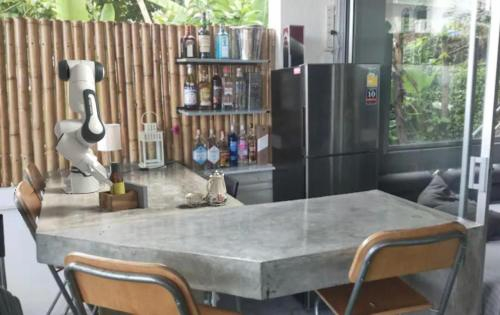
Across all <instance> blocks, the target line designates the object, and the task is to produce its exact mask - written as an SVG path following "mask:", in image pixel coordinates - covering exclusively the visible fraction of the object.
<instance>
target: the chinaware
mask: <svg viewBox="0 0 500 315" xmlns="http://www.w3.org/2000/svg"><path fill="white" fill-rule="evenodd" d="M224 175H225V173H221V174H220V173H219V172H218V169H215V171H214V173H212V174H211V175H209V179H208V181H207V182H206V186H205V188H206V191H207V194H206V196H205V198H204V200H205V202H206V203H207V205H208V204H211V205H217V204H224V203H226V202H227V201H228V199H229V196H228V194H227V192H228V191H227V188H226V186H227V185H226V182H225V178H224ZM204 195H205V194H201V193H199V192H195V193H191V192H190V193H189V192H188V193H187V194H184V196H183V197H184V198H185V199H186V202H187V205H188V206H189V207H191V208H196V207H195V206H197V205H199V204H200V203H201V202H202V198H203V197H204ZM197 207H198V206H197Z"/></svg>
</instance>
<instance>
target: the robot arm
mask: <svg viewBox="0 0 500 315" xmlns="http://www.w3.org/2000/svg"><path fill="white" fill-rule="evenodd" d="M55 73H56V75H57V77H58V79H59V80H60V81H61V82H66V83H68V107H69V109H70V110H71V111H73V113H76V114H79V115H80V116H81V117H80V118H75V119H73V118H72V119H62V120H59V121H57V122H56V123H55V125H54V130H53V131H54V134H55V136H56V137H57V140H56V142H55V143H54V148H55V149H56V150H57V152H58V153H59V154H60V155H61V156H62V157H64V158H65V159H66V160H67V161H69V162H71V165H70V174H69V175H68V177H66V178H65V180H64V185H65V186H63V187H61V190H62V189H63V190H64V191H65V192H64V191H63V190H62V191H63V192H64V193H65V194H67V193H68V194H69V195H72V194H87V193H88V194H89V193H93V192H94V193H95V192H98V191H99V190H101V189H102V187H101V186H100V183H101V184H102V183H104V184H106V185H108V186H109V187H110V186H112V185H113V183H112V182H111V181H110V175H109V174H108V173H107V169H106V168H105V167H104V166H103V165H102V164H101V163H100V162H99V161H98V157H97V156H96V155H95V154H94V151H93V149H92V147H94V146H95V145H96V144H97V143H98V142H100V141H102V140H103V139H104V138H105V135H106V130H107V128H106V124H105V122H104V121H103V120H102V118H101V114H100V108H99V106H100V105H99V100H98V97H97V96H98V95H97V94H96V83H101V81H103V80H104V77H105V68H104V66H103V64H102V63H101V62H100V61H96V60H94V61H92V60H85V59H69V60H67V59H63V60H60V61H58V63H57V65H56V70H55ZM71 193H72V194H71Z"/></svg>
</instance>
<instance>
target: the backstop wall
mask: <svg viewBox="0 0 500 315" xmlns="http://www.w3.org/2000/svg"><path fill="white" fill-rule="evenodd" d="M124 188H125V189H128V190H132V191H136V192H137V196H138V207H139V208H141V209H149V198H148V196H149V195H148V186H147V185H143V184H139V183H137V182H131V181H127V180H124ZM138 207H137V208H138Z"/></svg>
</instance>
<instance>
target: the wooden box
mask: <svg viewBox="0 0 500 315" xmlns="http://www.w3.org/2000/svg"><path fill="white" fill-rule="evenodd" d="M98 207H99V208H100V209H104V210H106V211H108V212H112V213H115V212H120V211H121V212H122V211H125V210H129V209H130V210H131V209H135V208H138V196H137V192H136V191H132V190H128V189H125V193H124V194H119V195H111V191H110V190H105V191H99V192H98Z"/></svg>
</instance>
